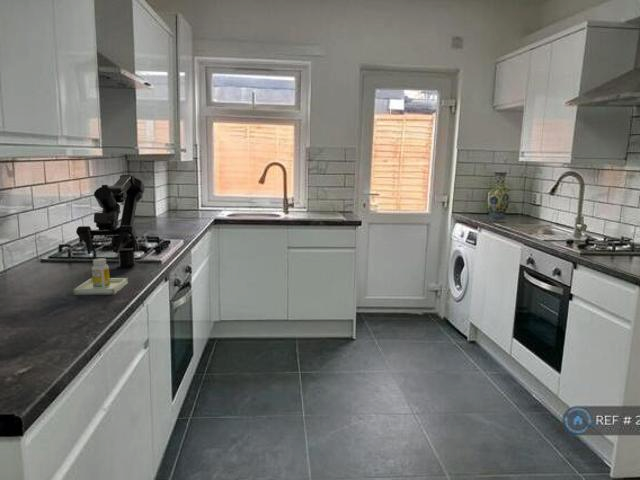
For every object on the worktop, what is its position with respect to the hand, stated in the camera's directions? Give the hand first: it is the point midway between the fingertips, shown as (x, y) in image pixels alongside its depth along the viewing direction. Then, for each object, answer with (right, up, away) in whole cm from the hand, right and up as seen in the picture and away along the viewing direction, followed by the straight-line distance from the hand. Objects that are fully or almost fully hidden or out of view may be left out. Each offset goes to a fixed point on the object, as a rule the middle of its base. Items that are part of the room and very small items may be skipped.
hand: (102, 253), depth 166 cm
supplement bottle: (0, -12, -1) cm, 12 cm away
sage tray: (0, -12, -1) cm, 12 cm away
